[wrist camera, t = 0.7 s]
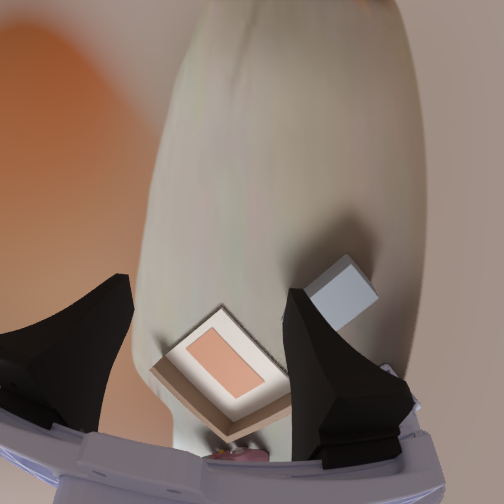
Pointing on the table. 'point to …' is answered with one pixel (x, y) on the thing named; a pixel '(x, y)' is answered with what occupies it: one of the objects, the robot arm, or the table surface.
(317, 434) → the robot arm
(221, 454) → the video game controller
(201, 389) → the tray
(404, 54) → the table surface
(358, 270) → the slate block
